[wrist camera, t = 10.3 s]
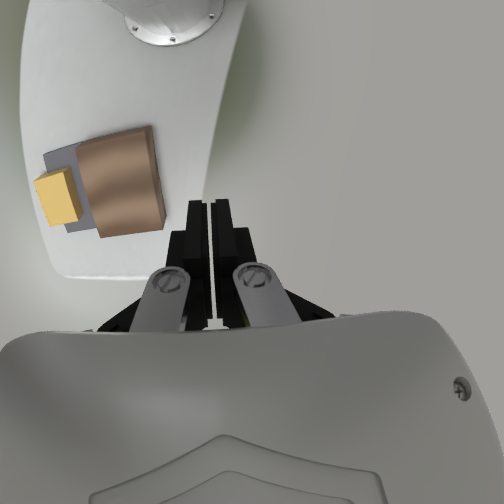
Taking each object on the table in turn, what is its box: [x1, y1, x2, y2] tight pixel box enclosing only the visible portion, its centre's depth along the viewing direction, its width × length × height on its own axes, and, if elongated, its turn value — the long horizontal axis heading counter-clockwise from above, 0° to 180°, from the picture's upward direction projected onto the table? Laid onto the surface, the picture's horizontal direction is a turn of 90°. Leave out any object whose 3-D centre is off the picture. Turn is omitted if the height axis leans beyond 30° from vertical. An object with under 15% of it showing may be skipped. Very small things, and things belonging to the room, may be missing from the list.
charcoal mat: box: [43, 141, 97, 233], centre depth 34 cm, size 14×8×1 cm, turn 1°
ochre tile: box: [34, 167, 84, 227], centre depth 33 cm, size 8×6×2 cm
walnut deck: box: [75, 126, 166, 238], centre depth 34 cm, size 14×10×4 cm
